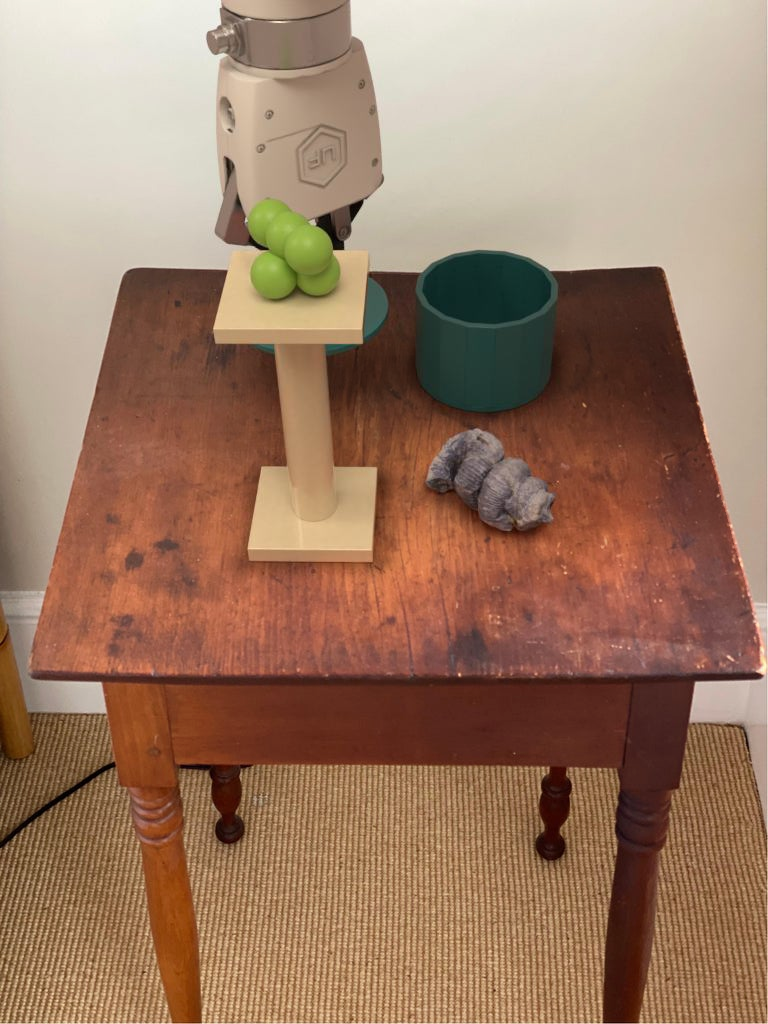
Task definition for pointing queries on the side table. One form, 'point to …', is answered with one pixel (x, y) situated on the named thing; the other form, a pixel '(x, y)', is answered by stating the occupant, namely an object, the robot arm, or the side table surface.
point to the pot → (485, 329)
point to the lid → (373, 321)
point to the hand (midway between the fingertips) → (309, 291)
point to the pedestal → (305, 415)
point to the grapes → (290, 253)
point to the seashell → (491, 482)
